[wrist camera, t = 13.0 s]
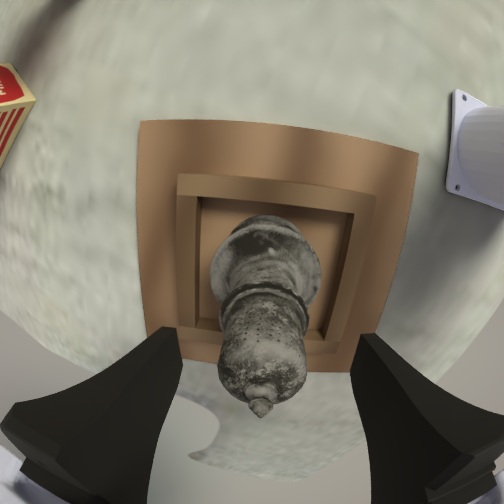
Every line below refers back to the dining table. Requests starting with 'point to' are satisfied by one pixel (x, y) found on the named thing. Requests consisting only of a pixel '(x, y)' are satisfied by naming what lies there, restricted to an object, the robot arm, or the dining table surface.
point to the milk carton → (12, 107)
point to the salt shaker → (264, 309)
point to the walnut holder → (269, 203)
